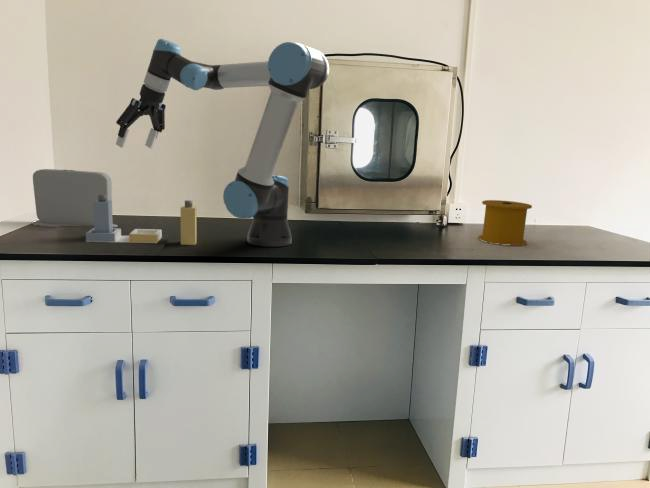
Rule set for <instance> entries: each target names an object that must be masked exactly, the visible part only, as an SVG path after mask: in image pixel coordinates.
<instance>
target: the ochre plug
mask: <svg viewBox="0 0 650 488" xmlns="http://www.w3.org/2000/svg"><path fill="white" fill-rule="evenodd" d="M197 222H198V221H197V205H193V200H189V199H188V200H184V205H181V206H180V245H181V246H185V245H186V246H196V245H197V243H198V241H197V239H198V238H197V237H198V236H197V235H198V234H197V228H198V226H197Z"/></svg>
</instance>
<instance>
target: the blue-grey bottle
mask: <svg viewBox="0 0 650 488" xmlns="http://www.w3.org/2000/svg"><path fill="white" fill-rule="evenodd" d="M93 213H94V226H93V228H94V233H112V232H113V228H114V227H113V224H114V223H113V222H114V221H113V219H114V218H113V201H110V200H107V196H106V195H98V200H96V201H94V202H93Z"/></svg>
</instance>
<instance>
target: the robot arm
mask: <svg viewBox="0 0 650 488" xmlns="http://www.w3.org/2000/svg"><path fill="white" fill-rule="evenodd" d="M181 50H182V49H181V47H180V46H179V45H178V44H176V43H174V42H172V41H170V40H166V39H164V38H160V39H158V40H157V41H156V44H155V45H154V49H153V50H152V55H151V59H150V61H149V64H148V68H147V71H146V72H145V73H146V74H145V76H144V80H143V84H142V85H141V87H140V91H139V96H140V98H139V99H136V98H135V97H132V98H131V100H130V102H129V104H128V105H127V107H126V108H125V110H124V111H123V112H122V114H120V116H119V117H118V118H117V120H116V122H115V123H116V124H117V126H119V129H118V132H117V139H116V142H115V145H116V146H117V147H119V148H120V149H123V148H124V146H125V143H126V141H127V138H128V135H129V131H130V129H128V128H130V126H132V125H133V124H134V123H135V122H136V121H137V120H138V119H139V118H140V117H143V116H149V118H150V122H151V124H152V125H151V126H152V128H150V130H149V133H148V136H147V138H146V141H145V144H144V145H145V146H146V147H147V148H148V149H151V150H152V149H153V147H154V144H155V142H156V139H157V138H158V134H159V133H163V131H164V130H165V128H166V127H165V125H166V124H165V123H166V120H165V118H166V117H165V116H166V115H165V112H166V104H164V103H163V102H164V100H165V99H164V98H165V97H166V92H167V90H168V87H169V85H170V82H171V79H173V80H175V81H176V82H178V83H180V84H182V85H183V86H185V88H189V89H191V90H193V91H199V90H201V89H203V88H204V89H210V90H216V91H218V90H219V91H221V90H224V89H231V88H251V87H255V88H256V87H269V90H270V94H269V96H268V99H267V102H266V105H265V108H264V111H263V114H262V117H261V120H260V122H259V126H258V128H257V130H256V134H255V137H254V140H253V143H252V145H251V148H250V151H249V154H248V157H247V159H246V162H245V165H244V166H243V167H241V168H239V169H238V170H237V173H236V176H235V179H234V180H233V181H231V182H229V183H227V185H226V186H225V188H224V189H223V194H222V195H223V196H222V198H223V204H224V205H225V206H226V207H225V208H226V210H227V212H229V214H230V215H232V216H233V217H235V218H238V219H252V221H251V224H250V227H249V230H248V232H247V237H246V238H247V240H246V241H247V243H248V244H250V245H253V246H256V247H257V246H258V247H268V248H269V247H270V248H276V247H287V246H289V245H291V244H292V239H293V237H292V236H293V235H292V233H291V229H290V225H289V222H288V208H289V190H290V186H289V178H287V177H286V176H283V175H275V174H274V175H273V173H274V171H275V168H276V164H277V162H278V159H279V158H280V157H279V156H280V155H281V151H282V149H283V146H284V143H285V140H286V138H287V136H288V133H289V131H290V130H289V129H290V127H291V125H292V122H293V119H294V116H295V113H296V111H297V108H298V105H299V103H300V102H302V101H304V100H306V98H307V96H308V93H309V91H310V90H314V89H318V88H320V87H321V86H322V85H324V83H325V82H326V81H327V79H328V76H329V73H330V66H329V62H328V60H327V57H326V56H325V55H324V53H322V52H321V51H320V50H318V49H315V48H312V47H309V46H307V45H305V44H303V43H300V42H294V41H285V42H282V43H280V44H279V45H276V47H275V48H274V49H273V50H272V51H271V53H270V55H269V57H268V61H255V62H241V63H240V62H239V63H228V64H227V63H226V64H224V63H223V64H214V65H213V64H206V63H201V62H198V61H193V60H189V59H188V58H186V57H184V56H183V55H181Z"/></svg>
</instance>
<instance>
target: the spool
mask: <svg viewBox="0 0 650 488" xmlns="http://www.w3.org/2000/svg"><path fill="white" fill-rule="evenodd" d="M481 202H482V203H481V204H482V205H485V209H484V210H485V211H484V217H483V218H484V220H483V226H482V227H483V228H482V234H480V235H478V237H477V239H478V238H479V239H481V240H484V241H487V242H492V243H499V244H510V245H522V244H526V243H527V244H528V242H527V240H525V239H524V236H525V228H526V221H527V215H528V209H529V210H530V209H532V208H533V205H532V204H529V203H525V202H521V201H520V202H519V201H513V200H512V201H511V200H510V201H509V200H502V199H501V200H500V199H497V200H496V199H488V200H487V199H486V200H482V201H481ZM479 239H478V240H479ZM527 244H526V245H527Z"/></svg>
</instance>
